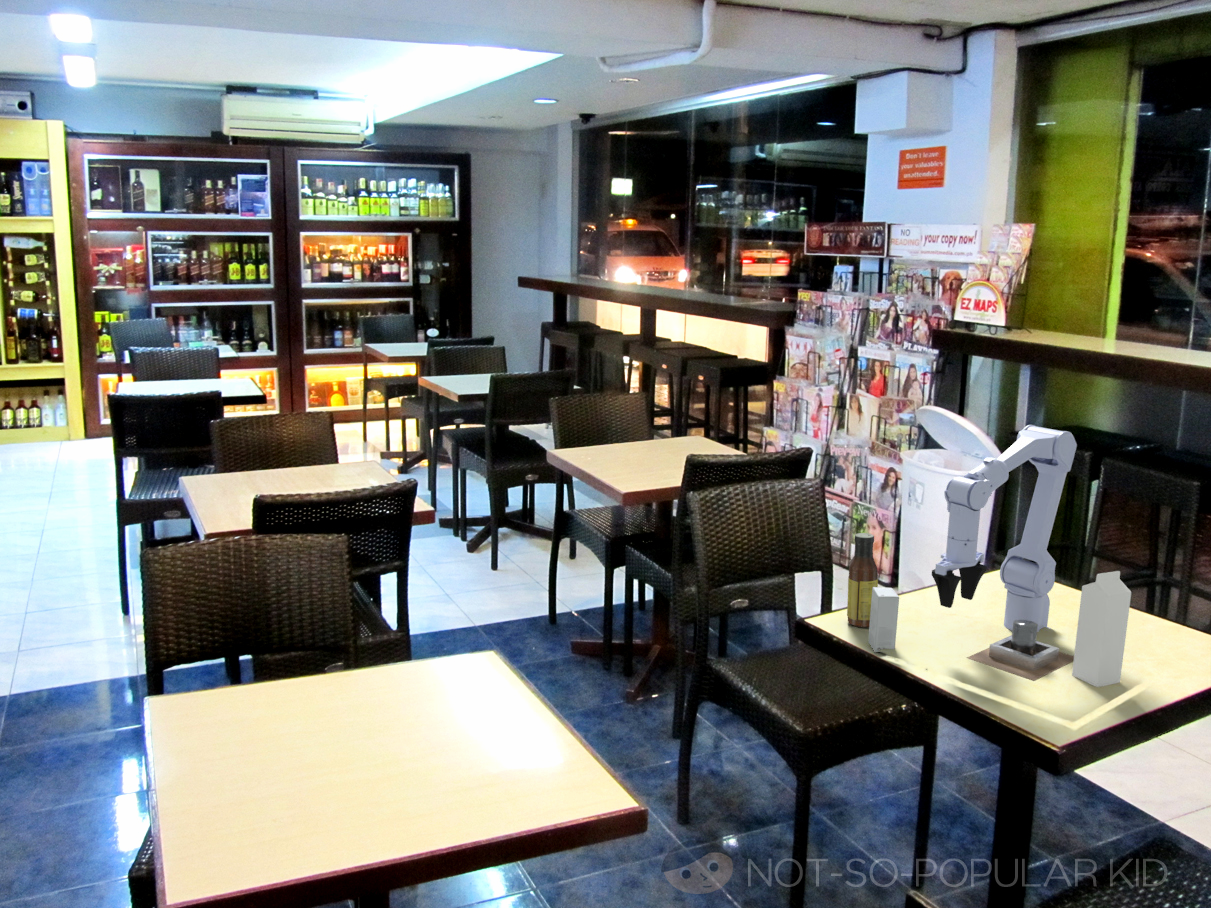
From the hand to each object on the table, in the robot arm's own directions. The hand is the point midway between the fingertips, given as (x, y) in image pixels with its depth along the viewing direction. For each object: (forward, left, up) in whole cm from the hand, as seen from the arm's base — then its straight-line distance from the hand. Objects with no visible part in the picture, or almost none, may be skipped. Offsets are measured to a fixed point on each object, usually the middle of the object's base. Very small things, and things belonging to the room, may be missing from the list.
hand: (956, 602), depth 212 cm
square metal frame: (-6, +12, -9) cm, 16 cm away
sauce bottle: (+2, -21, -11) cm, 24 cm away
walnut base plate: (-6, +12, -10) cm, 17 cm away
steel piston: (-6, +12, -9) cm, 16 cm away
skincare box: (+10, -10, -11) cm, 18 cm away
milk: (-8, +26, -11) cm, 29 cm away
